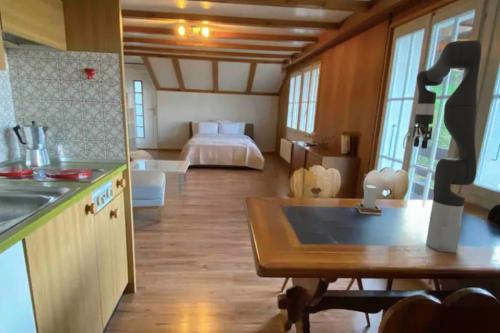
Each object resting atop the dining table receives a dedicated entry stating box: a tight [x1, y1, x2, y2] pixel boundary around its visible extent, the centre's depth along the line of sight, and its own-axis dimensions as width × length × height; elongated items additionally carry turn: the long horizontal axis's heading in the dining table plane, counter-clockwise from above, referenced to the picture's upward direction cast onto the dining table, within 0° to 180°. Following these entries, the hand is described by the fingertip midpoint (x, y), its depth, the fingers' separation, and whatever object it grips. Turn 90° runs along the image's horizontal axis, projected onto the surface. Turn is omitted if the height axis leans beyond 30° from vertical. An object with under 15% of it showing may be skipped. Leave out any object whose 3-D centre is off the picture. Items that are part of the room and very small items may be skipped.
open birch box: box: [356, 202, 382, 216], centre depth 141 cm, size 9×10×2 cm
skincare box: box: [362, 184, 378, 209], centre depth 140 cm, size 6×4×12 cm
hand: (419, 147), depth 136 cm, fingers open, 8 cm apart
